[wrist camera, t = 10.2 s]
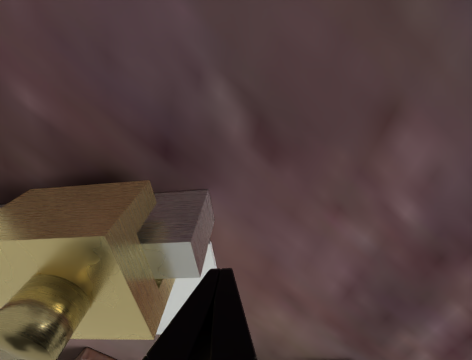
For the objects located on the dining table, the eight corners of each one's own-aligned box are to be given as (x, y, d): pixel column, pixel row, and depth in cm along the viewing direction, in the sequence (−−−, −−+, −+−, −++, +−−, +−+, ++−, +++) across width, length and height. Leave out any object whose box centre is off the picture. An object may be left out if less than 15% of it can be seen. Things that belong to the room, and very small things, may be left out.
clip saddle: (178, 269, 14) (132, 399, 9) (79, 272, 14) (-17, 393, 9) (149, 180, 11) (59, 291, 6) (30, 189, 12) (-138, 295, 7)
